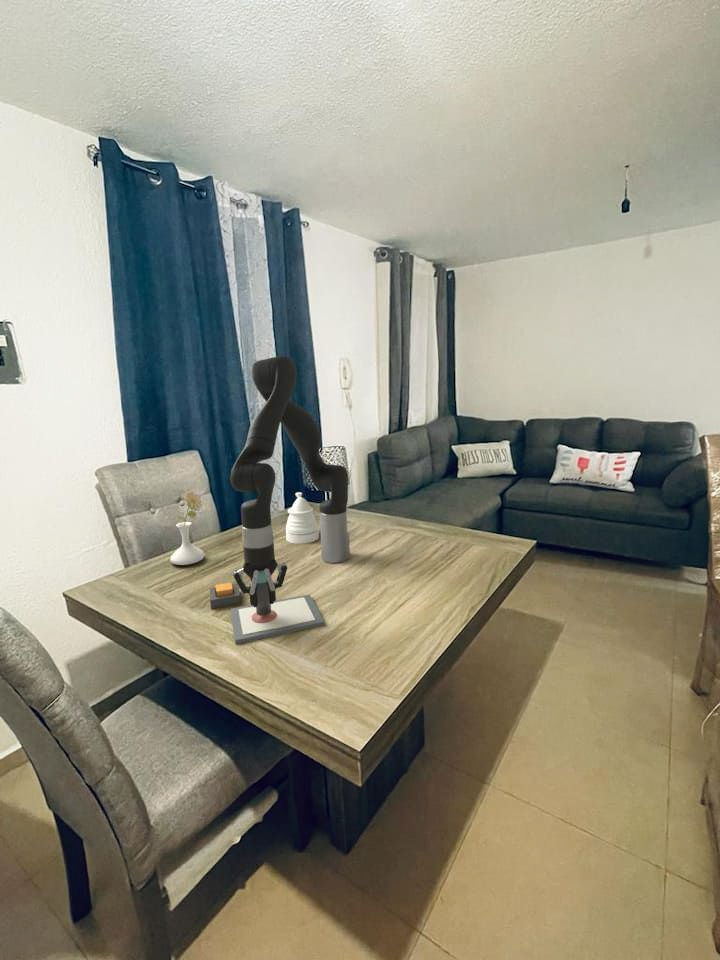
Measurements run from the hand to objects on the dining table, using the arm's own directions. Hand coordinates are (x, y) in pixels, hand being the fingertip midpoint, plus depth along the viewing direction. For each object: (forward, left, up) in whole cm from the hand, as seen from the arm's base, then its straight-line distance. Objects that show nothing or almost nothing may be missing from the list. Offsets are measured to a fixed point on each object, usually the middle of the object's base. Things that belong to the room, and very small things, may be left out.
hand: (263, 604), depth 114 cm
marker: (0, 0, -2) cm, 2 cm away
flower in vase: (+19, -51, -5) cm, 55 cm away
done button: (+9, -16, -3) cm, 19 cm away
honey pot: (-23, -58, -5) cm, 63 cm away
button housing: (+9, -16, -5) cm, 19 cm away
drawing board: (-3, 0, -5) cm, 6 cm away
